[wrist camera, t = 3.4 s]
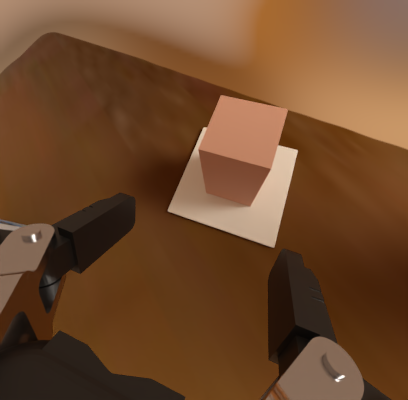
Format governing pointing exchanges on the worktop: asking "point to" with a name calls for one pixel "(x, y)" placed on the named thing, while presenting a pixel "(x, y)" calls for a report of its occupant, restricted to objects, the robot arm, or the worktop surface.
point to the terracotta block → (240, 148)
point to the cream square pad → (232, 211)
